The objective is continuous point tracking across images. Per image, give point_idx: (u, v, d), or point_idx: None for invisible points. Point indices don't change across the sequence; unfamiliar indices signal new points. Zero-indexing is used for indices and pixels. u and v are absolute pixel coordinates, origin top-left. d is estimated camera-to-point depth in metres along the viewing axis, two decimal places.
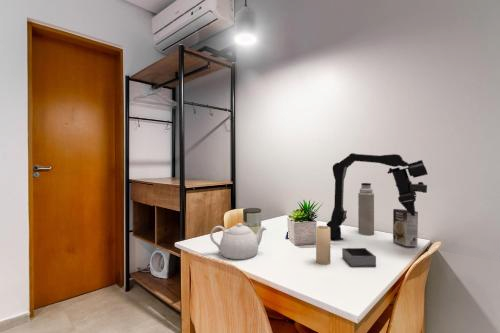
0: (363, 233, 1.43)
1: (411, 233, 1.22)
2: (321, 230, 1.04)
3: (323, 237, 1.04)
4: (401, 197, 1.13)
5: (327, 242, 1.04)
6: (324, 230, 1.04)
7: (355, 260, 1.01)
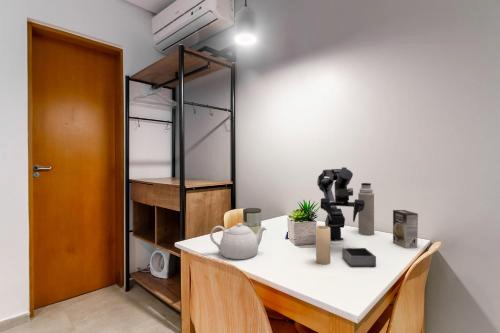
0: (363, 233, 1.43)
1: (411, 235, 1.21)
2: (321, 230, 1.04)
3: (323, 237, 1.04)
4: None
5: (327, 242, 1.04)
6: (324, 230, 1.04)
7: (355, 260, 1.01)
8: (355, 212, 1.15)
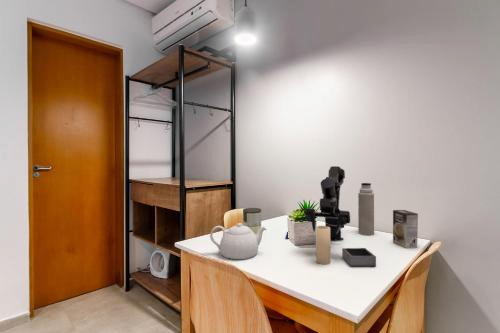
0: (363, 233, 1.43)
1: (411, 235, 1.21)
2: (321, 230, 1.04)
3: (323, 237, 1.04)
4: None
5: (327, 242, 1.04)
6: (324, 230, 1.04)
7: (355, 260, 1.01)
8: (338, 223, 1.10)
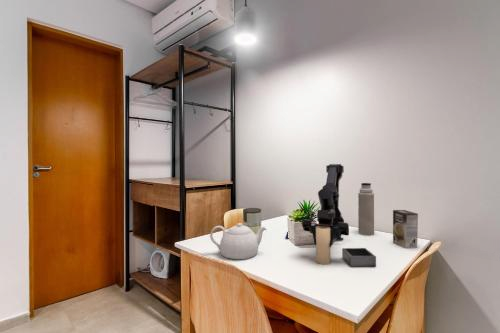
0: (363, 233, 1.43)
1: (411, 235, 1.21)
2: (321, 230, 1.04)
3: (323, 237, 1.04)
4: None
5: (327, 242, 1.04)
6: (324, 230, 1.04)
7: (355, 260, 1.01)
8: (332, 236, 1.06)
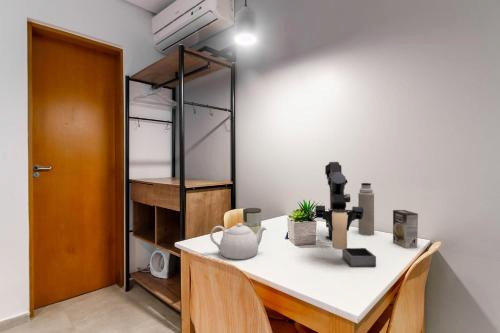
0: (363, 233, 1.43)
1: (411, 235, 1.21)
2: (339, 215, 1.03)
3: (341, 222, 1.03)
4: None
5: (345, 226, 1.03)
6: (342, 214, 1.03)
7: (355, 260, 1.01)
8: (349, 220, 1.05)
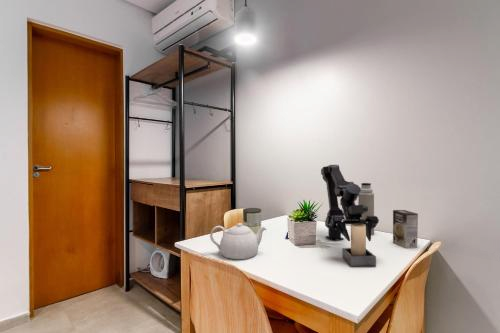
0: None
1: (411, 235, 1.21)
2: (360, 228, 1.03)
3: (362, 235, 1.03)
4: (330, 223, 1.12)
5: (365, 240, 1.04)
6: (363, 228, 1.03)
7: (355, 260, 1.01)
8: (369, 230, 1.06)
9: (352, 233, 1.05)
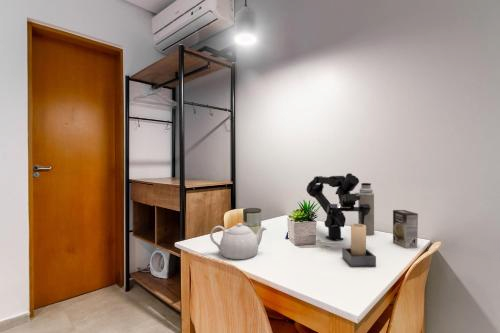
0: None
1: (411, 235, 1.21)
2: (360, 228, 1.03)
3: (362, 235, 1.03)
4: (327, 210, 1.25)
5: (365, 240, 1.04)
6: (363, 228, 1.03)
7: (355, 260, 1.01)
8: (363, 216, 1.18)
9: (352, 233, 1.05)
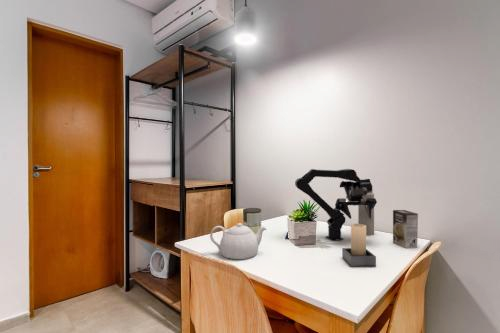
0: None
1: (411, 235, 1.21)
2: (361, 228, 1.03)
3: (362, 235, 1.03)
4: (335, 204, 1.31)
5: (365, 239, 1.04)
6: (363, 228, 1.03)
7: (355, 260, 1.01)
8: (370, 209, 1.26)
9: (352, 233, 1.05)
